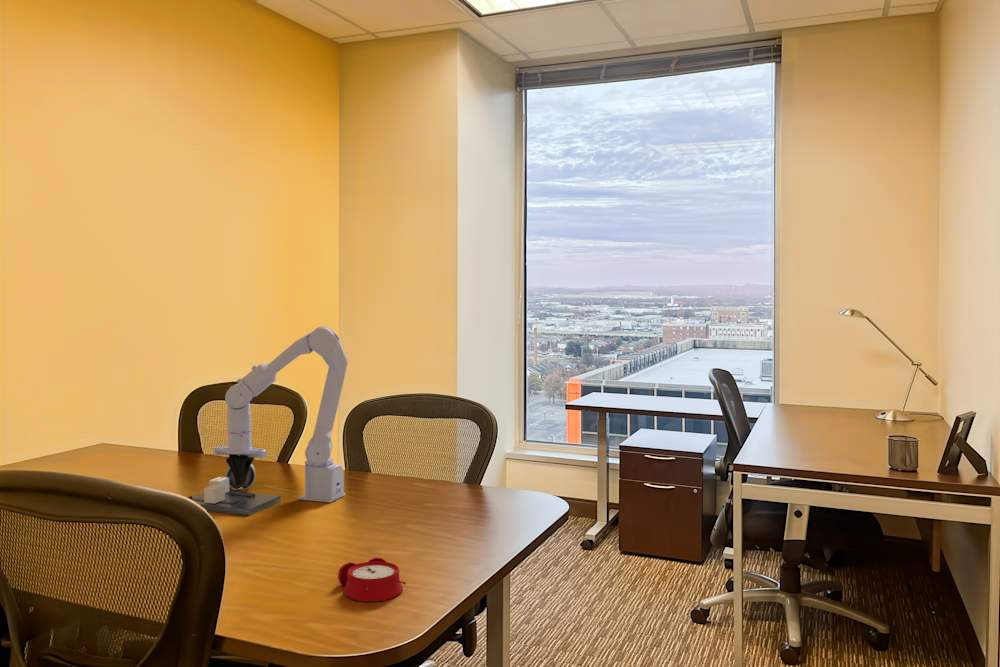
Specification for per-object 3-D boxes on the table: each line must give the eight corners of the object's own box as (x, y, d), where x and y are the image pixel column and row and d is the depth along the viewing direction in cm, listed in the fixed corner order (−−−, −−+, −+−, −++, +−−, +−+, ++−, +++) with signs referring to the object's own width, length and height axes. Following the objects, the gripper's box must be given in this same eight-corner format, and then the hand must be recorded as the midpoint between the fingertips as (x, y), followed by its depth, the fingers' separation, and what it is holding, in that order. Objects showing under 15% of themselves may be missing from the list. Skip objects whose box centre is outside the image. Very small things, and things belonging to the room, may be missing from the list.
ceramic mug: (255, 482, 218) (254, 455, 218) (255, 489, 211) (255, 461, 210) (214, 486, 215) (213, 458, 215) (213, 493, 207) (212, 464, 207)
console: (280, 501, 199) (280, 494, 199) (248, 515, 187) (248, 507, 187) (214, 494, 205) (214, 487, 205) (179, 507, 193) (179, 499, 193)
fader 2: (225, 499, 195) (224, 485, 194) (214, 503, 191) (214, 489, 191) (215, 498, 196) (214, 484, 195) (204, 502, 192) (204, 487, 192)
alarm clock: (358, 589, 133) (330, 545, 145) (355, 621, 134) (327, 575, 147) (414, 578, 138) (382, 536, 150) (411, 609, 140) (380, 565, 152)
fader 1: (229, 491, 203) (229, 477, 202) (219, 495, 199) (219, 480, 199) (219, 490, 204) (219, 476, 203) (209, 494, 200) (209, 480, 200)
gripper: (273, 430, 201) (274, 482, 202) (225, 427, 205) (226, 478, 206) (256, 435, 194) (258, 489, 195) (207, 431, 199) (208, 485, 200)
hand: (240, 484), depth 200 cm, fingers closed
